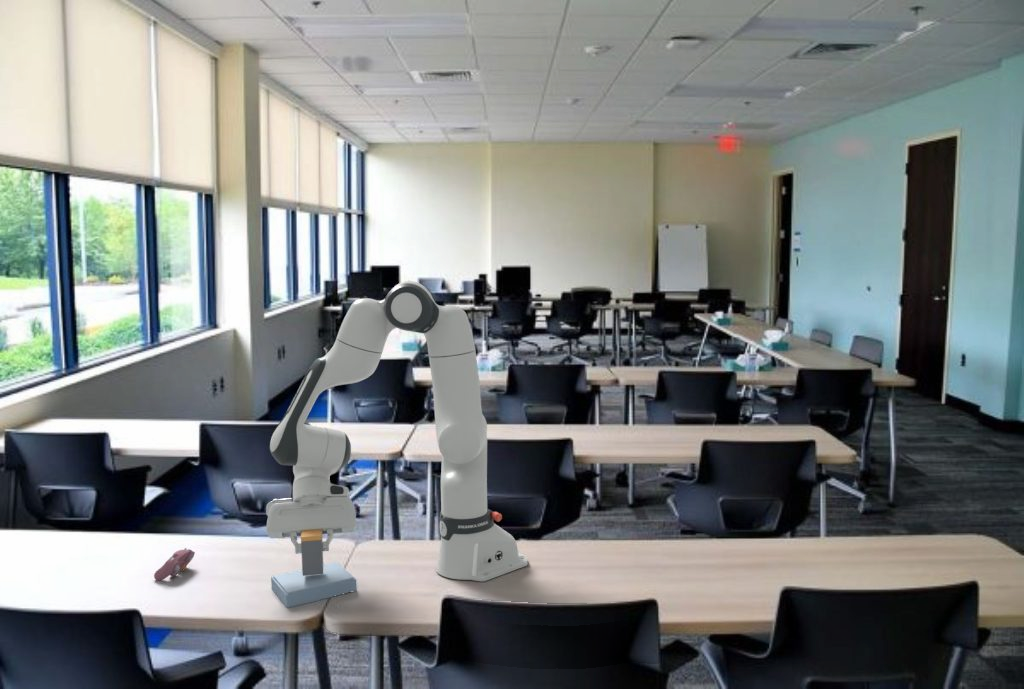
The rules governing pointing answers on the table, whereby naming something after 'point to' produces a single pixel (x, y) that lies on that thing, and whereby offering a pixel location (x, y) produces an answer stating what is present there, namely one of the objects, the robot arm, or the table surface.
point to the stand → (312, 585)
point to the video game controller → (175, 564)
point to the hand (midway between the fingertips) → (312, 551)
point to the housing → (312, 552)
